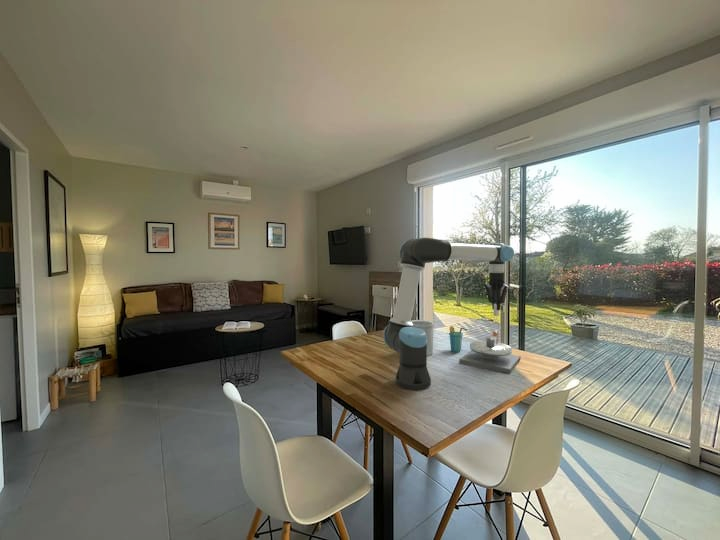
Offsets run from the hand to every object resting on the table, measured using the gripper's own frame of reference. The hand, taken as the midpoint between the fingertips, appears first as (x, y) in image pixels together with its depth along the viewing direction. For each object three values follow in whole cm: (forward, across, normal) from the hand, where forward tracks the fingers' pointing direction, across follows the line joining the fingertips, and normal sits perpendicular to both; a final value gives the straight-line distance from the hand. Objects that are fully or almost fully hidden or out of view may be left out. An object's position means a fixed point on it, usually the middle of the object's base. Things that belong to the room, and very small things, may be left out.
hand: (496, 315), depth 163 cm
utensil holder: (+23, +31, +25) cm, 46 cm away
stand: (+23, -1, +7) cm, 24 cm away
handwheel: (+17, -1, +7) cm, 18 cm away
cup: (+23, +20, +7) cm, 31 cm away
